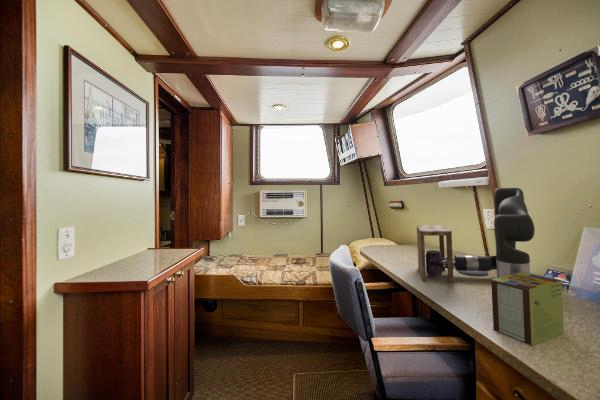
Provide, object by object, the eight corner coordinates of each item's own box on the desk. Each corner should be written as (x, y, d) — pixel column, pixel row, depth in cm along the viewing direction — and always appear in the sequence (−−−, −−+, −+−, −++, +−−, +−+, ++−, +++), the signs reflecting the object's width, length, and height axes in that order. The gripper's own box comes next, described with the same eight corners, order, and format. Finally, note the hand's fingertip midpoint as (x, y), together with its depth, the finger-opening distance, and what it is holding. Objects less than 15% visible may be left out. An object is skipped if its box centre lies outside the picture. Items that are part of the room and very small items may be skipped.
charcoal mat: (487, 270, 143) (487, 269, 143) (487, 277, 132) (487, 276, 132) (459, 267, 150) (459, 266, 150) (456, 274, 140) (456, 272, 140)
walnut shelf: (444, 269, 149) (442, 225, 149) (453, 283, 126) (451, 231, 125) (418, 268, 154) (416, 225, 153) (422, 282, 130) (420, 231, 130)
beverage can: (423, 274, 141) (422, 251, 141) (433, 272, 144) (432, 249, 144) (435, 278, 135) (434, 253, 135) (445, 275, 138) (444, 251, 138)
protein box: (565, 333, 79) (562, 280, 79) (531, 346, 73) (529, 289, 73) (524, 319, 89) (522, 271, 89) (491, 330, 83) (489, 278, 83)
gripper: (462, 252, 142) (426, 251, 147) (469, 258, 128) (430, 257, 133) (462, 267, 142) (427, 265, 147) (470, 274, 128) (430, 273, 133)
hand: (428, 262), depth 140 cm, fingers closed on beverage can, 6 cm apart
